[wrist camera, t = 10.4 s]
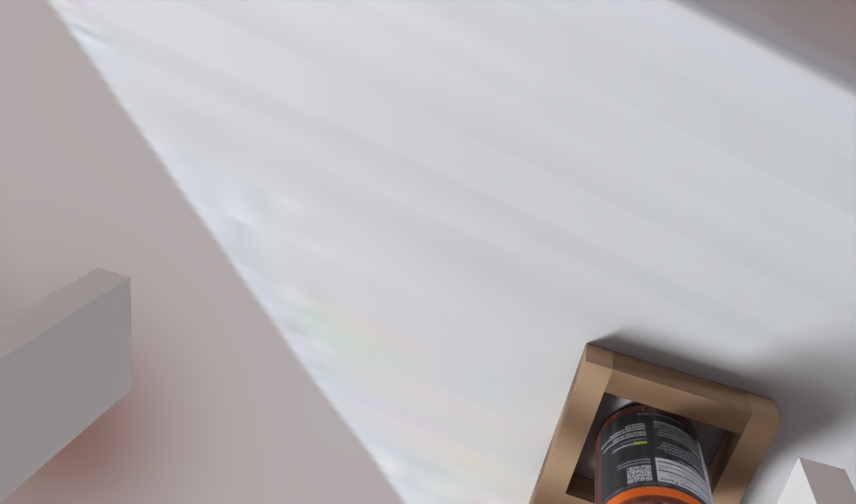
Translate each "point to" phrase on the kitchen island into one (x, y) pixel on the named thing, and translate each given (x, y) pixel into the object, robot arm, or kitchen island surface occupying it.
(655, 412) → the supplement bottle
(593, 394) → the brown wooden frame
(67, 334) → the robot arm
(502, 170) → the kitchen island surface
